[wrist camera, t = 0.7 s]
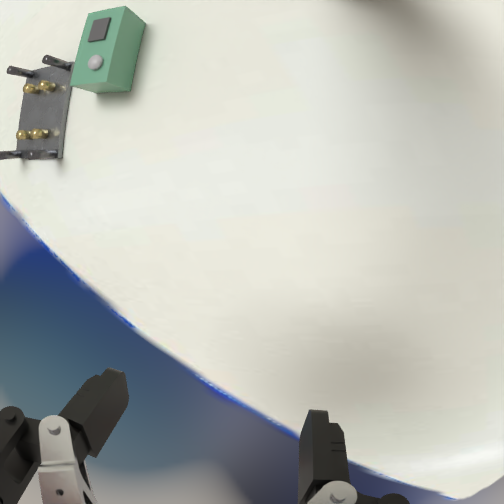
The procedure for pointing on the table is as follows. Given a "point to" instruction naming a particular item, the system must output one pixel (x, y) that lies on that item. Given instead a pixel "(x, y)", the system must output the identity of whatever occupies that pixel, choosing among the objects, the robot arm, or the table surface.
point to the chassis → (43, 110)
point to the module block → (108, 51)
